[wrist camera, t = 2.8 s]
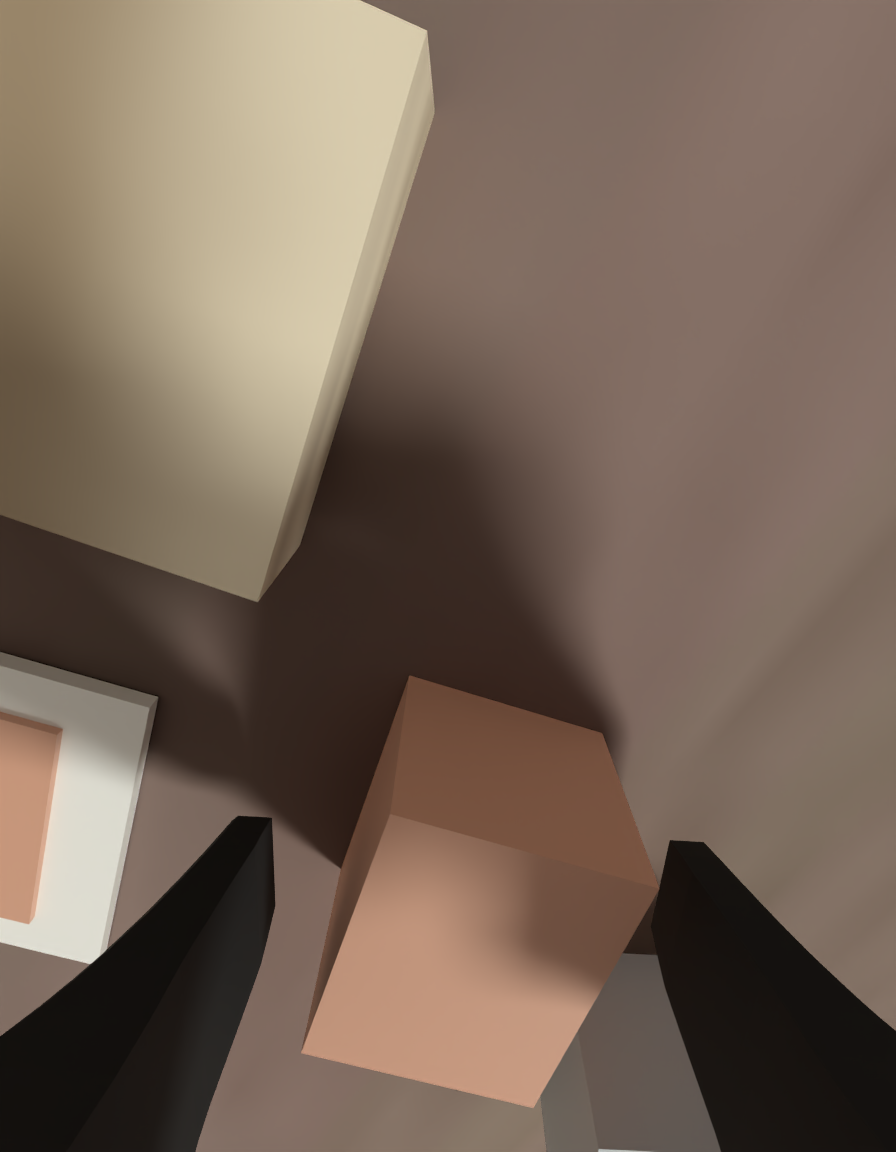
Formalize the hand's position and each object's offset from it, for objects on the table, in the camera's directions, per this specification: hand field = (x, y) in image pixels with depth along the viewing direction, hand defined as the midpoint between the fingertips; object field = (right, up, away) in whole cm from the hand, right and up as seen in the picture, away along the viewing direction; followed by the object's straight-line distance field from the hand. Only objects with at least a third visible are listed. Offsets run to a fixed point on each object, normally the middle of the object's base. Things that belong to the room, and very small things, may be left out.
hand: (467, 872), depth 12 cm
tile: (-10, +1, +2) cm, 11 cm away
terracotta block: (0, +1, +2) cm, 2 cm away
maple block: (-5, +10, -1) cm, 12 cm away
